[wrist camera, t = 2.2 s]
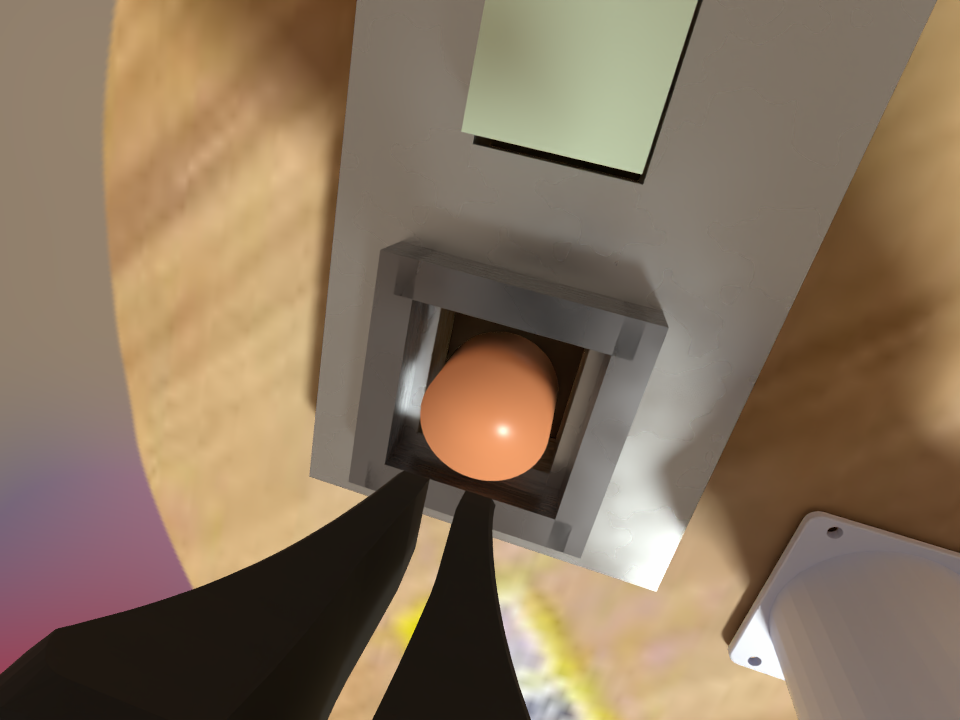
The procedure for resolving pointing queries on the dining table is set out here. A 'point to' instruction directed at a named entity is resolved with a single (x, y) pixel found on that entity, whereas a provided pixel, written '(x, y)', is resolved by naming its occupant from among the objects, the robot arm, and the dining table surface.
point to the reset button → (491, 407)
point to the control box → (590, 259)
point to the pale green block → (576, 75)
